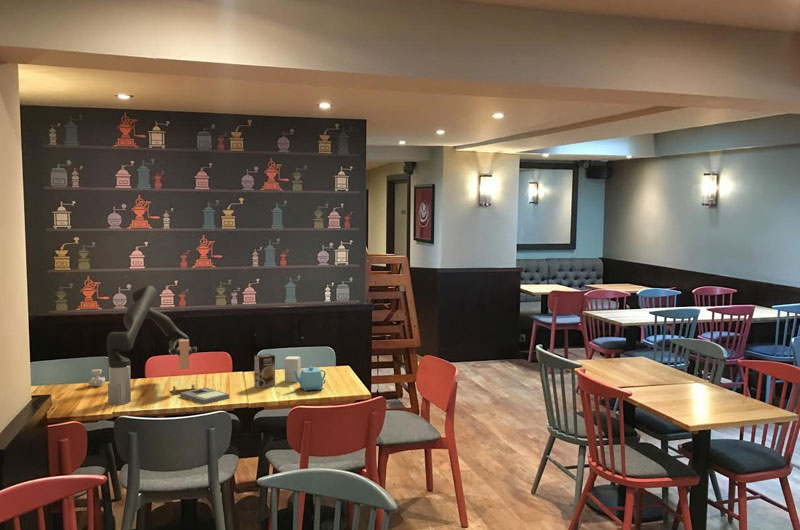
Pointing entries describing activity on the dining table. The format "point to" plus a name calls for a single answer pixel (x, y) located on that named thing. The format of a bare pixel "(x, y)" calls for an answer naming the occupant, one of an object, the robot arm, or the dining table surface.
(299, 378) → the teapot
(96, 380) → the stamp
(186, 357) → the terracotta block
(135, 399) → the dining table surface
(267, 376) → the coffee box
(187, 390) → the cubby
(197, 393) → the board
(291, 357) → the supplement box
